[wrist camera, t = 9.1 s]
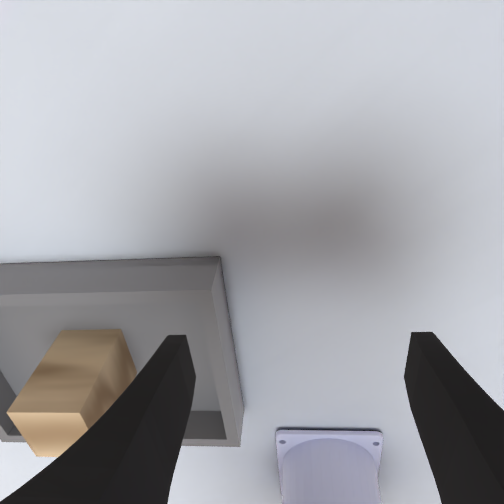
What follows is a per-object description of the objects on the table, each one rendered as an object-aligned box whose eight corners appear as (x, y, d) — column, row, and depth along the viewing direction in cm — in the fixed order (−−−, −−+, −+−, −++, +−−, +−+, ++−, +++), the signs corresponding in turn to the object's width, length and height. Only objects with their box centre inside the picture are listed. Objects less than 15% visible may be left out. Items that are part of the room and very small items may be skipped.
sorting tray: (244, 408, 30) (239, 446, 27) (24, 406, 32) (2, 441, 29) (219, 256, 23) (211, 289, 20) (-63, 266, 25) (-103, 297, 22)
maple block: (137, 372, 27) (103, 457, 22) (81, 372, 28) (36, 456, 23) (121, 329, 25) (79, 412, 20) (61, 330, 26) (6, 412, 21)
